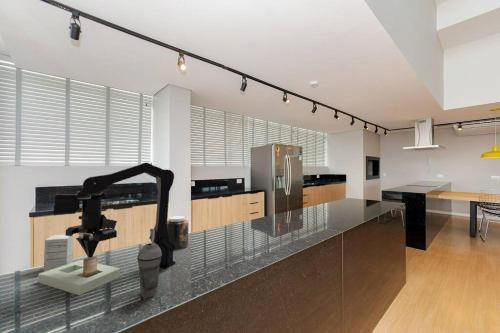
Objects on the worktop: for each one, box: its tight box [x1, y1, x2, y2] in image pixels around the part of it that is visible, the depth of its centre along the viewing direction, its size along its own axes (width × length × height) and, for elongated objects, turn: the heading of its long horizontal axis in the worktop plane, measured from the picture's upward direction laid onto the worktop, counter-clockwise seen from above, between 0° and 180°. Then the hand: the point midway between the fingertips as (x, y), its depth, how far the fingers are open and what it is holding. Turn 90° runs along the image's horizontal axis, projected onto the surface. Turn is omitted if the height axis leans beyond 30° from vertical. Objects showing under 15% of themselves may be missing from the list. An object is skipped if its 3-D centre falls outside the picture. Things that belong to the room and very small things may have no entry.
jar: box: [167, 215, 189, 250], centre depth 120 cm, size 12×12×15 cm
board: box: [37, 259, 121, 296], centre depth 81 cm, size 22×14×3 cm, turn 68°
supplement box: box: [43, 233, 75, 272], centre depth 91 cm, size 7×7×13 cm
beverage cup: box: [136, 230, 162, 298], centre depth 72 cm, size 7×7×20 cm
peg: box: [82, 256, 98, 278], centre depth 80 cm, size 4×4×8 cm
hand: (90, 257), depth 80 cm, fingers closed
